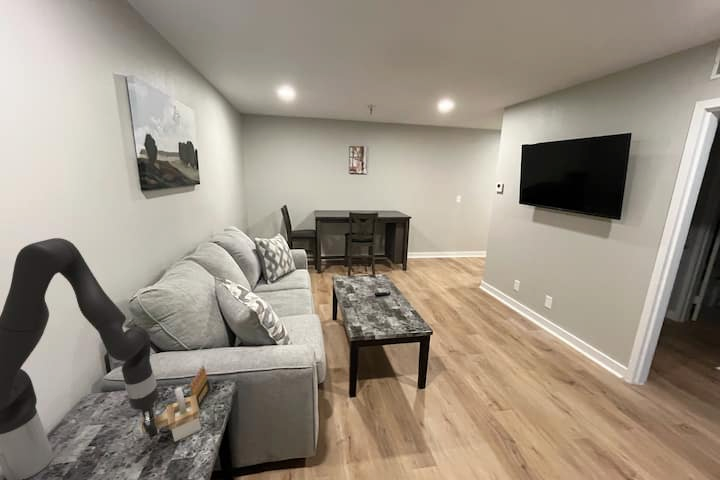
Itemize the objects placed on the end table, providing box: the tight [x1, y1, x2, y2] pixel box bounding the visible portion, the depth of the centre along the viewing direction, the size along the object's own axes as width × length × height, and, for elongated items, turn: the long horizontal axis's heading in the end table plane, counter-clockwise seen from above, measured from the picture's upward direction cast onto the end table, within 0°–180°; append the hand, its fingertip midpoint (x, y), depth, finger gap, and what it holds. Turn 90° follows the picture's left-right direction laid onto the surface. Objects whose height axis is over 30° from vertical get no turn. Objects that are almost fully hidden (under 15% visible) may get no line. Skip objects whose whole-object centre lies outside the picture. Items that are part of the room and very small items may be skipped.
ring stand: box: [171, 386, 202, 443], centre depth 103 cm, size 8×8×16 cm
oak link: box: [141, 395, 201, 436], centre depth 101 cm, size 16×9×2 cm, turn 125°
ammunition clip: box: [189, 365, 211, 409], centre depth 115 cm, size 11×2×12 cm, turn 2°
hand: (153, 432), depth 99 cm, fingers closed on oak link, 3 cm apart
